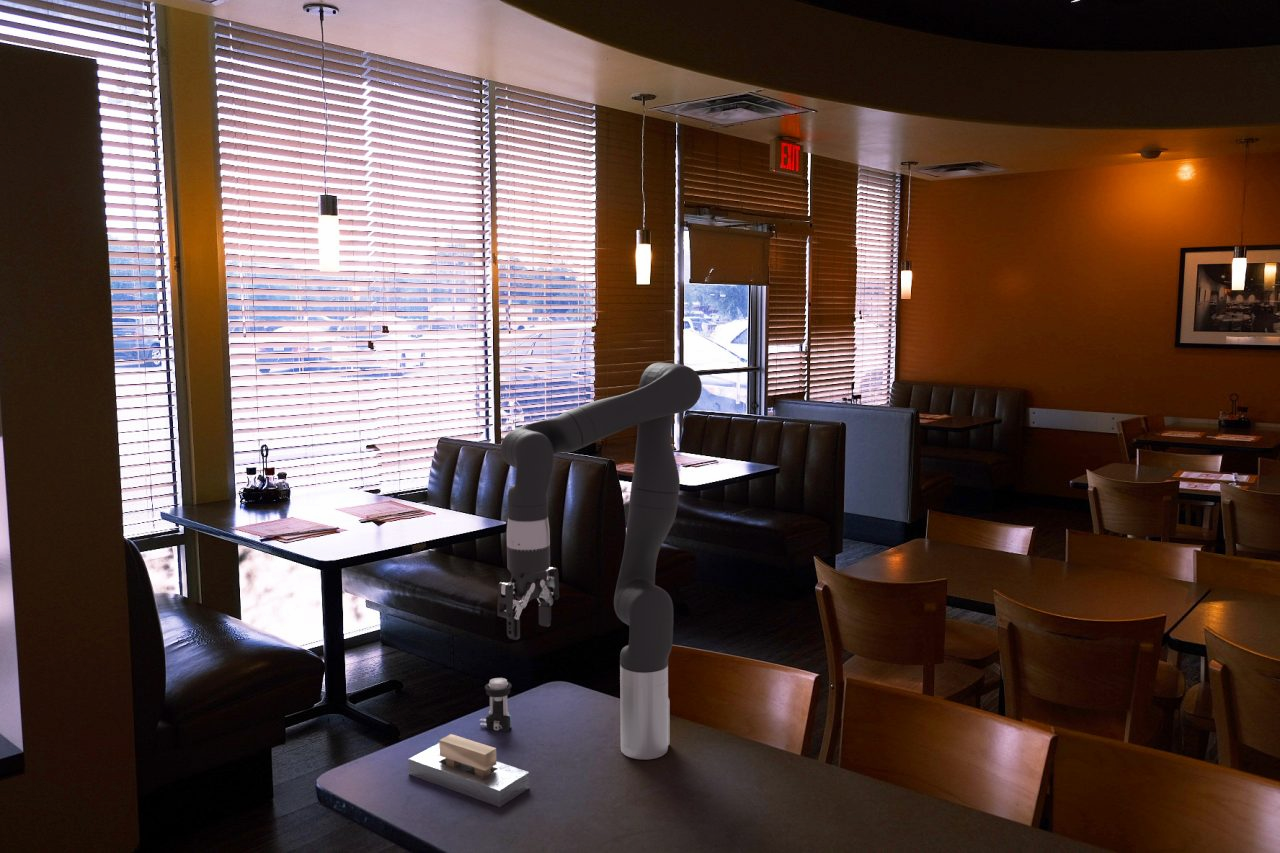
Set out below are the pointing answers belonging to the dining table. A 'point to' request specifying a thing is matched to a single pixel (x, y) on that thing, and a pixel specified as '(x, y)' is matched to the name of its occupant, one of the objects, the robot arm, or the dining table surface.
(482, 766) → the wooden peg block
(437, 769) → the grey block with holes
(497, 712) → the push button
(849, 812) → the dining table surface
